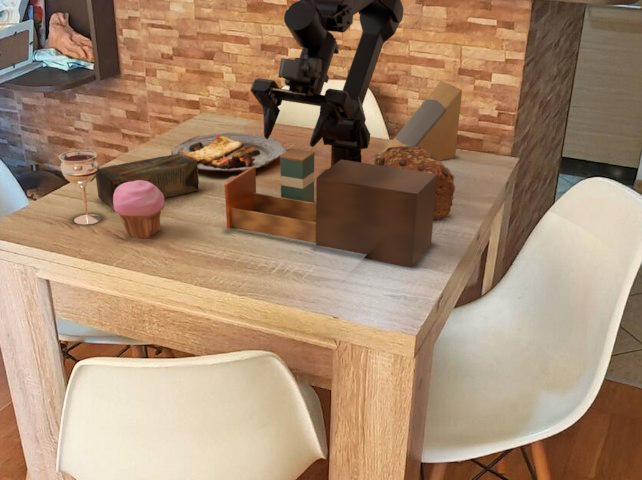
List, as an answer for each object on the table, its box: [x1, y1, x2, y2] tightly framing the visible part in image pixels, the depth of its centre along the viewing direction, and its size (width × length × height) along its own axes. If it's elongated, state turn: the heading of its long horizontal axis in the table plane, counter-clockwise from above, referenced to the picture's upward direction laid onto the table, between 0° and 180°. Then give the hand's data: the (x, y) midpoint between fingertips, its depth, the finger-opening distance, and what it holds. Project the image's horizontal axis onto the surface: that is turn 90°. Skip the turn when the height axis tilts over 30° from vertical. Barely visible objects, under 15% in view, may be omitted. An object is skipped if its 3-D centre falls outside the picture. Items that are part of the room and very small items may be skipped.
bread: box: [373, 146, 456, 220], centre depth 157 cm, size 19×11×10 cm, turn 13°
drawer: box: [224, 166, 316, 244], centre depth 147 cm, size 19×10×9 cm, turn 65°
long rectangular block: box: [279, 148, 316, 203], centre depth 154 cm, size 5×5×11 cm
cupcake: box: [113, 180, 165, 240], centre depth 144 cm, size 9×9×10 cm
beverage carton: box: [95, 153, 200, 210], centre depth 161 cm, size 8×19×7 cm, turn 126°
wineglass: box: [58, 149, 102, 225], centre depth 150 cm, size 7×7×12 cm
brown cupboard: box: [315, 160, 437, 268], centre depth 139 cm, size 18×10×13 cm, turn 65°
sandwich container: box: [380, 80, 463, 161], centre depth 180 cm, size 9×15×15 cm, turn 116°
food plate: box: [170, 132, 287, 174], centre depth 181 cm, size 25×23×4 cm
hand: (288, 141), depth 148 cm, fingers open, 9 cm apart
